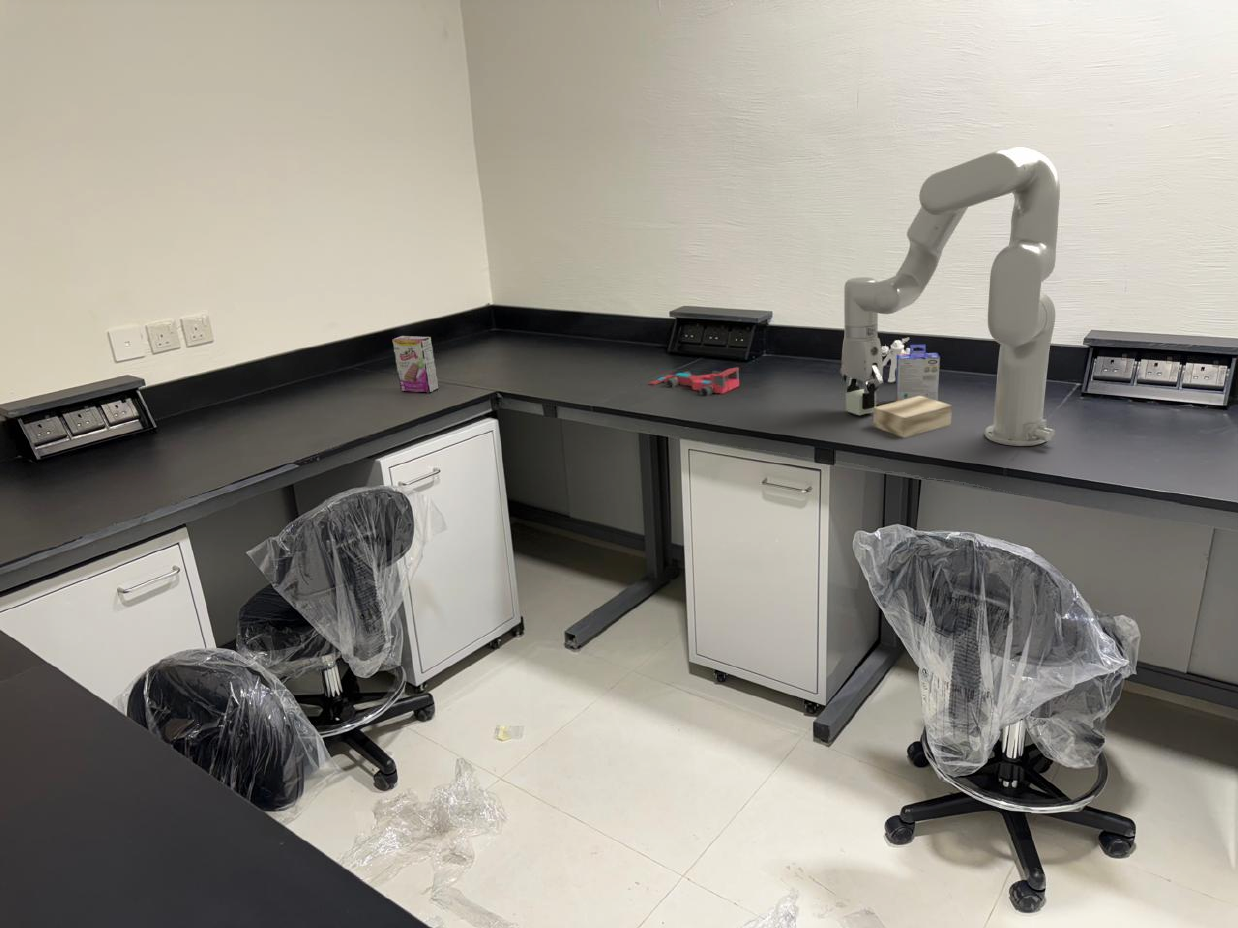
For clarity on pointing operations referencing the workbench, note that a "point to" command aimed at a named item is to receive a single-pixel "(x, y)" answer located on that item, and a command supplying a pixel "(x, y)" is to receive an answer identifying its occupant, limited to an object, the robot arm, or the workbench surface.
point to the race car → (704, 381)
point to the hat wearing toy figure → (894, 356)
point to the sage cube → (857, 403)
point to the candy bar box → (415, 363)
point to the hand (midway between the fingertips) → (860, 404)
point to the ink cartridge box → (917, 374)
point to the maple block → (912, 416)
